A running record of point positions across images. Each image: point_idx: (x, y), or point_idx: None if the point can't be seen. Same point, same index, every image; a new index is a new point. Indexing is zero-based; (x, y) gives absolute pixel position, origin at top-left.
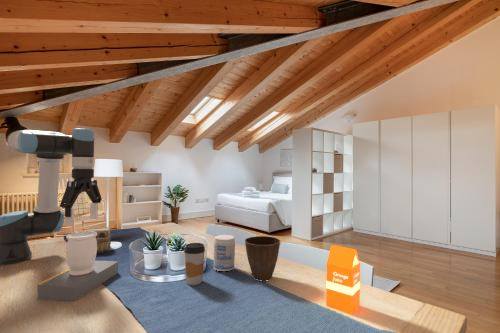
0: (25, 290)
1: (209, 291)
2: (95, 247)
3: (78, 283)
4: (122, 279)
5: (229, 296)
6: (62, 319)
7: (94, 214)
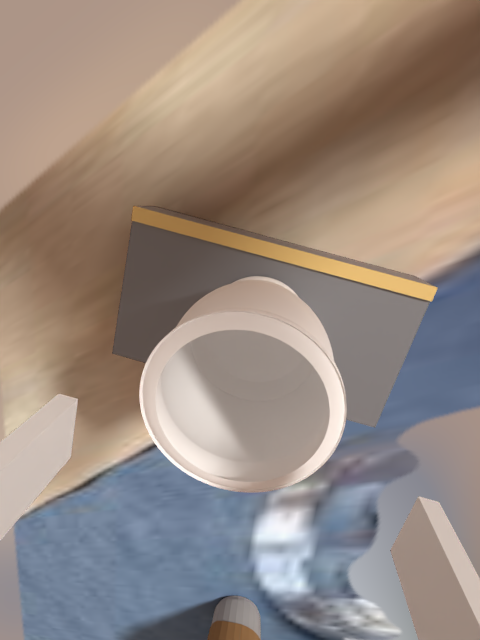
0: (232, 105)
1: (175, 633)
2: (243, 435)
3: (140, 354)
4: None
5: None
6: (35, 347)
7: (416, 582)
